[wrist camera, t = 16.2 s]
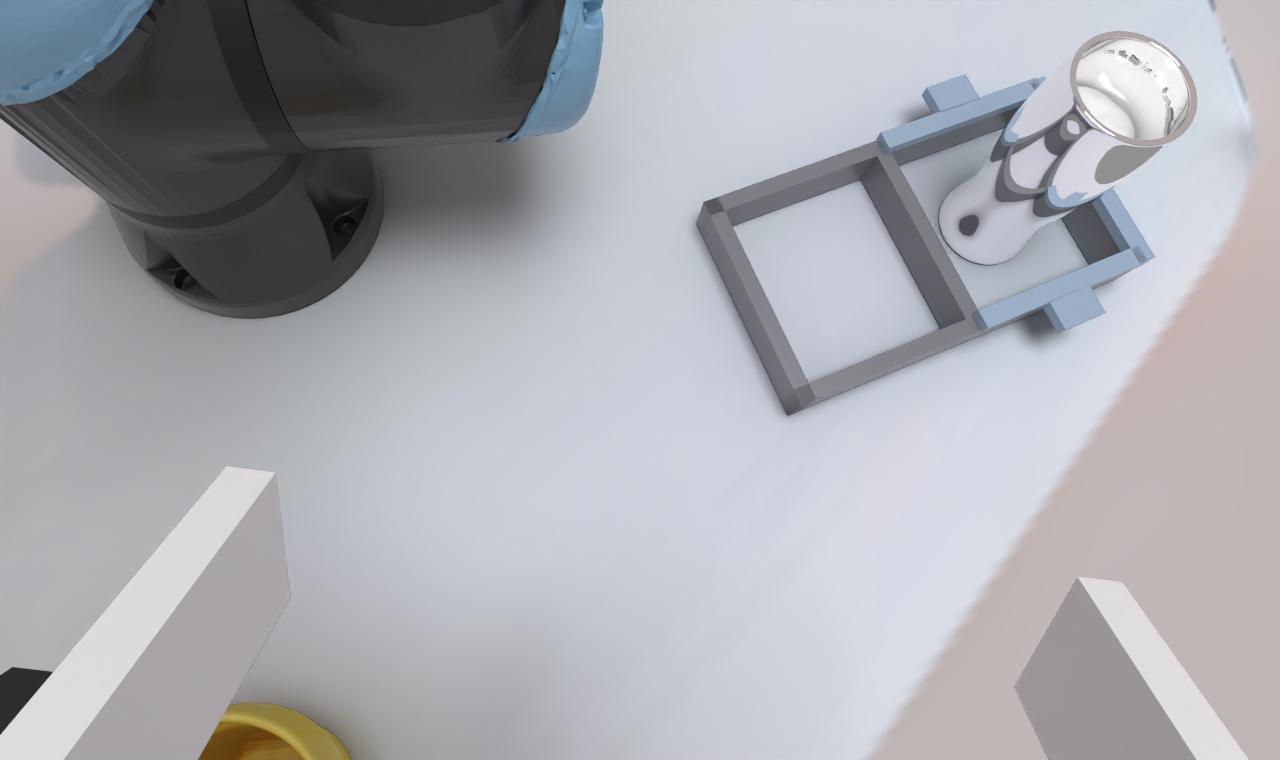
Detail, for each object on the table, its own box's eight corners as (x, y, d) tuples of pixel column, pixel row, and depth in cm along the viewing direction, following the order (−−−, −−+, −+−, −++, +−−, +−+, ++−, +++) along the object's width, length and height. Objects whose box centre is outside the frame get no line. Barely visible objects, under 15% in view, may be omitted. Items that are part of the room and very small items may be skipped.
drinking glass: (1050, 240, 52) (1230, 109, 38) (974, 289, 51) (1130, 172, 37) (987, 162, 54) (1137, 6, 39) (911, 208, 52) (1038, 63, 38)
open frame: (684, 198, 51) (692, 168, 47) (999, 87, 55) (1029, 52, 52) (801, 445, 47) (820, 433, 44) (1130, 305, 52) (1172, 284, 48)
